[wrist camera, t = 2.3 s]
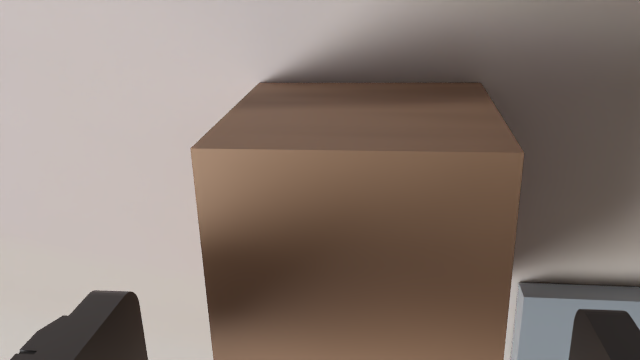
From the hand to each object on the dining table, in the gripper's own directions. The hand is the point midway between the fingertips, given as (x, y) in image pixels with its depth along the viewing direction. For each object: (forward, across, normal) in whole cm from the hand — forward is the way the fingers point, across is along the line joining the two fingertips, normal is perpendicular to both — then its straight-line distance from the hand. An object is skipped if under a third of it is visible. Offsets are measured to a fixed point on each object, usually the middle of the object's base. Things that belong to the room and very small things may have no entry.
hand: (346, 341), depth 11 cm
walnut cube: (+7, 0, 0) cm, 7 cm away
